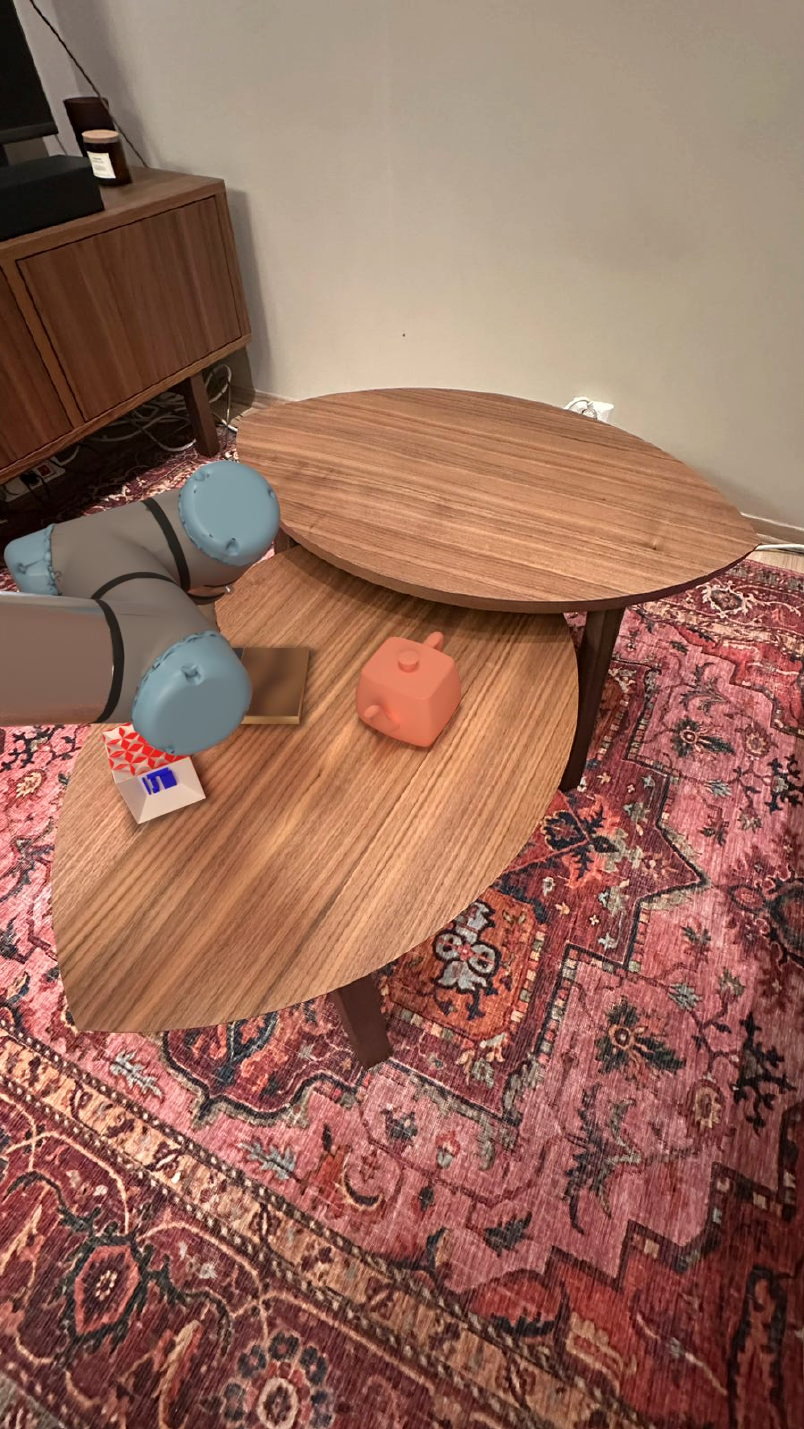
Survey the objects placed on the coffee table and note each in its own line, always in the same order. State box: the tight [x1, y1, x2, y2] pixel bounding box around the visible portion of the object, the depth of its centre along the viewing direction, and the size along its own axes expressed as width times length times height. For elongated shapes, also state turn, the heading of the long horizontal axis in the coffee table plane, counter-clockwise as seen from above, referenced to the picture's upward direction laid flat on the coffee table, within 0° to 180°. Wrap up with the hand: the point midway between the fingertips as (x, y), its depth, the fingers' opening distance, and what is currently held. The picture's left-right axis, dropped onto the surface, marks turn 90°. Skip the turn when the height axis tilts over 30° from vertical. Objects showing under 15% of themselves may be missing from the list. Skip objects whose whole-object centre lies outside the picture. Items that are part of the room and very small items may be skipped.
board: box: [231, 646, 311, 725], centre depth 91 cm, size 18×13×1 cm
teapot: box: [355, 631, 462, 748], centre depth 83 cm, size 12×18×10 cm, turn 150°
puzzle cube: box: [100, 723, 207, 825], centre depth 78 cm, size 8×8×8 cm
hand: (169, 606), depth 85 cm, fingers closed on stone, 7 cm apart
